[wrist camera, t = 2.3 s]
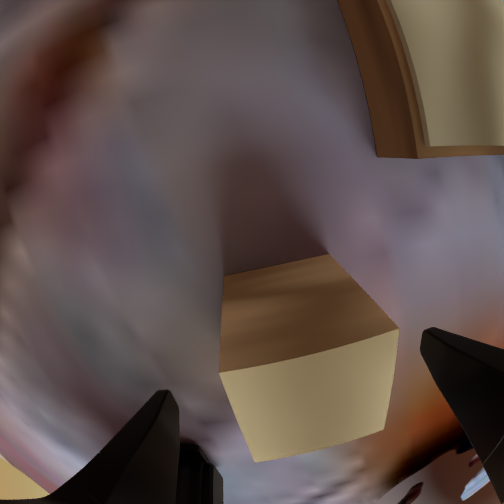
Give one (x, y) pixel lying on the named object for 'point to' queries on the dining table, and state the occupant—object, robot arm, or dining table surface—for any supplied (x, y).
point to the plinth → (431, 74)
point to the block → (304, 357)
